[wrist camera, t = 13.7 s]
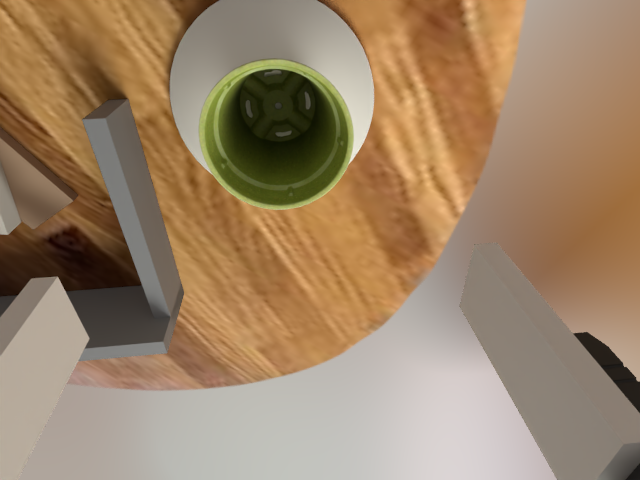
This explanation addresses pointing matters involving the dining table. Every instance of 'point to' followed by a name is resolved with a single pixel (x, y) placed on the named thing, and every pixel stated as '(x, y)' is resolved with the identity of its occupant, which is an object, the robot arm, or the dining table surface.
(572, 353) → the robot arm
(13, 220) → the block
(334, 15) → the mat
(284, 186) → the plant pot
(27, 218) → the offcut bottom
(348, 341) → the dining table surface
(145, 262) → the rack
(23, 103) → the dining table surface
